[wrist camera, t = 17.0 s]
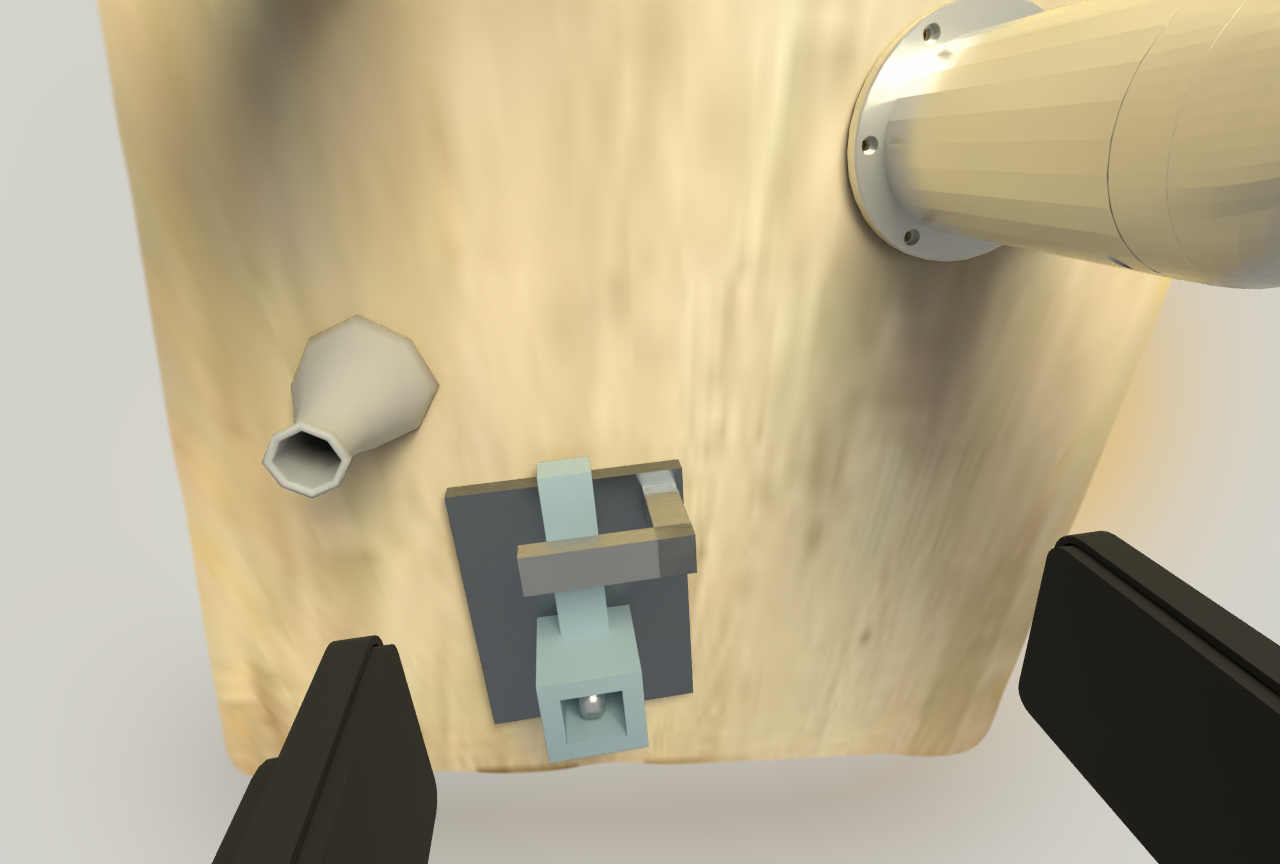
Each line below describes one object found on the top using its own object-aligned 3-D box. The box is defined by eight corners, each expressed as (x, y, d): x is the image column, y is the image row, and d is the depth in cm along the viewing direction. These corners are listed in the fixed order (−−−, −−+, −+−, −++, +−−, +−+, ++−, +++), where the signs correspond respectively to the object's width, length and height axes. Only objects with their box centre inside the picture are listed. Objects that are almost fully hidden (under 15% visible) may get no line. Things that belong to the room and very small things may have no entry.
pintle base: (678, 459, 40) (704, 519, 33) (689, 679, 47) (713, 765, 41) (447, 488, 38) (427, 557, 32) (496, 710, 46) (487, 803, 39)
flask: (355, 289, 33) (284, 339, 24) (463, 382, 36) (435, 460, 27) (267, 382, 35) (168, 464, 26) (378, 466, 37) (324, 567, 28)
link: (635, 674, 45) (648, 746, 39) (549, 687, 44) (549, 763, 39) (614, 453, 38) (626, 504, 32) (511, 466, 37) (505, 519, 32)
